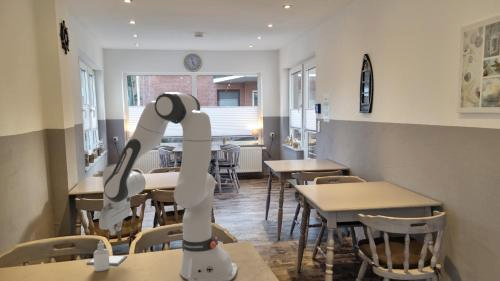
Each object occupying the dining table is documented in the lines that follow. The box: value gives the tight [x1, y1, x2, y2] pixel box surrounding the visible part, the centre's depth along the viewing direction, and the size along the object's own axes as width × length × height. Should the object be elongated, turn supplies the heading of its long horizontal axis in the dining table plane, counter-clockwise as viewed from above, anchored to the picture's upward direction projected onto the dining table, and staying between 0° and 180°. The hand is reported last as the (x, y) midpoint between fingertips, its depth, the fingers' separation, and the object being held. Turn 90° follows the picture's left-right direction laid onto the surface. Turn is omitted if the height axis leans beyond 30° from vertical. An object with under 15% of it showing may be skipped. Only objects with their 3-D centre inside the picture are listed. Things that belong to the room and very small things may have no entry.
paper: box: [89, 255, 126, 263], centre depth 147 cm, size 12×7×1 cm, turn 84°
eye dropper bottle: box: [93, 240, 110, 272], centre depth 138 cm, size 4×6×12 cm
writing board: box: [86, 255, 128, 266], centre depth 147 cm, size 14×8×1 cm, turn 84°
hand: (115, 232), depth 147 cm, fingers open, 3 cm apart
